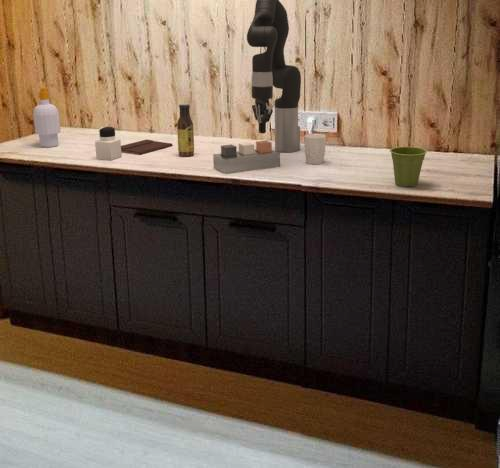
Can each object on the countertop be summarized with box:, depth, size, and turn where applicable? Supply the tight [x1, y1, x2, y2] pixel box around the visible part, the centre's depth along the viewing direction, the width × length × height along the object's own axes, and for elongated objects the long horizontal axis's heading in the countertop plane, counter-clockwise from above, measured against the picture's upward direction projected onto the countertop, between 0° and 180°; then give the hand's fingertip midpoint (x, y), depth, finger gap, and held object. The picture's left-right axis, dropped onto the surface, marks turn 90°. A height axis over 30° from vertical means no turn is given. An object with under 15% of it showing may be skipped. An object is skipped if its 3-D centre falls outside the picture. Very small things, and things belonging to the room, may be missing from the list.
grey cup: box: [303, 133, 327, 165], centre depth 269 cm, size 8×8×10 cm
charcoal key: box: [220, 144, 238, 157], centre depth 261 cm, size 4×4×4 cm
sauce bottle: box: [176, 103, 195, 157], centre depth 284 cm, size 7×6×20 cm
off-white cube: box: [238, 142, 255, 155], centre depth 264 cm, size 4×4×4 cm
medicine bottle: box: [94, 126, 123, 161], centre depth 283 cm, size 7×7×12 cm
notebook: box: [121, 139, 173, 156], centre depth 300 cm, size 15×20×2 cm
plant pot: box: [389, 146, 428, 187], centre depth 237 cm, size 12×12×11 cm
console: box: [212, 148, 281, 174], centre depth 265 cm, size 22×10×5 cm, turn 116°
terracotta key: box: [255, 140, 273, 153], centre depth 267 cm, size 4×4×4 cm
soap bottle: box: [32, 86, 61, 148], centre depth 305 cm, size 10×10×24 cm
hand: (262, 132), depth 265 cm, fingers closed
